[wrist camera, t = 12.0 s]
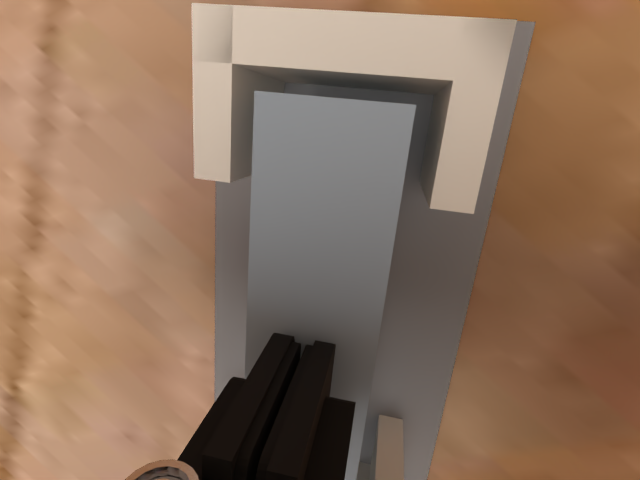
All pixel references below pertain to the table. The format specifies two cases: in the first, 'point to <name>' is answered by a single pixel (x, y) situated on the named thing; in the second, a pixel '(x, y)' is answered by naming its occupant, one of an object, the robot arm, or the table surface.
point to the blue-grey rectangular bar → (325, 231)
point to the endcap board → (418, 190)
